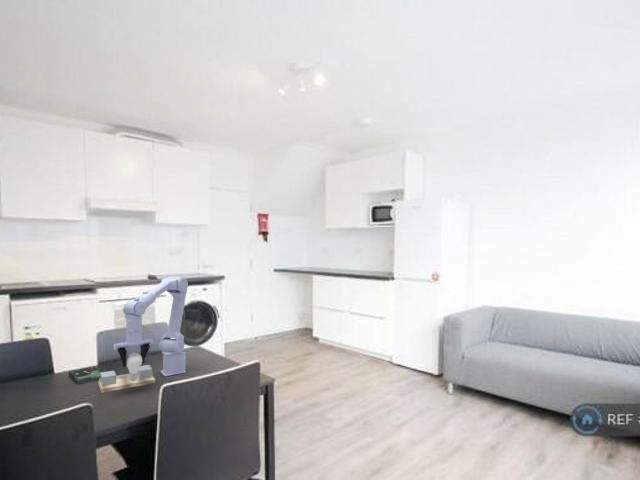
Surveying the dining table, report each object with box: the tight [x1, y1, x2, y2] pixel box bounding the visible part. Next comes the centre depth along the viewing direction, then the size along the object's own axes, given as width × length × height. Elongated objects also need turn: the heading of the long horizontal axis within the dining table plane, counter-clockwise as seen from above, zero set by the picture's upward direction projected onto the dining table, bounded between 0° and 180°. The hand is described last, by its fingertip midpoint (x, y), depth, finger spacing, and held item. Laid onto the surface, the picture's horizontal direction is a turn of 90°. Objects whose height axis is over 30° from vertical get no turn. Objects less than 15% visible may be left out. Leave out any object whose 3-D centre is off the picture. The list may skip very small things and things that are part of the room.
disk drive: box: [68, 366, 102, 386], centre depth 168 cm, size 10×3×15 cm
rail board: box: [98, 364, 156, 394], centre depth 161 cm, size 20×11×5 cm, turn 125°
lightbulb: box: [126, 352, 143, 381], centre depth 154 cm, size 6×6×11 cm
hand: (133, 364), depth 154 cm, fingers closed on lightbulb, 6 cm apart
